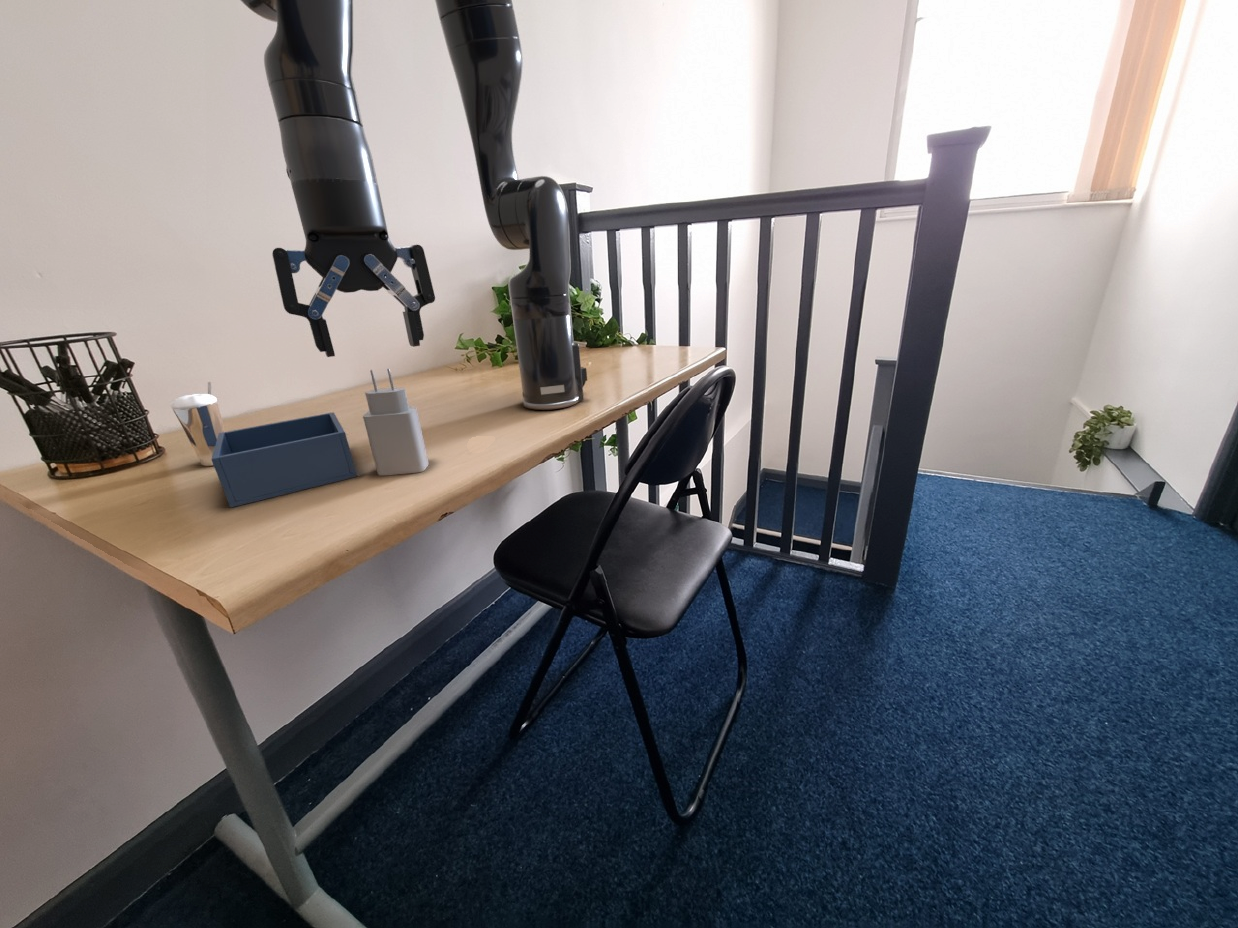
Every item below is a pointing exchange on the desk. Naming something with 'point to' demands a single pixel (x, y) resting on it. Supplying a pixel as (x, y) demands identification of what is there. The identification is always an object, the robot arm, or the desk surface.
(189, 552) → the desk surface
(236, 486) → the basket
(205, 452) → the milkshake
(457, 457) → the desk surface
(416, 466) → the power adapter
